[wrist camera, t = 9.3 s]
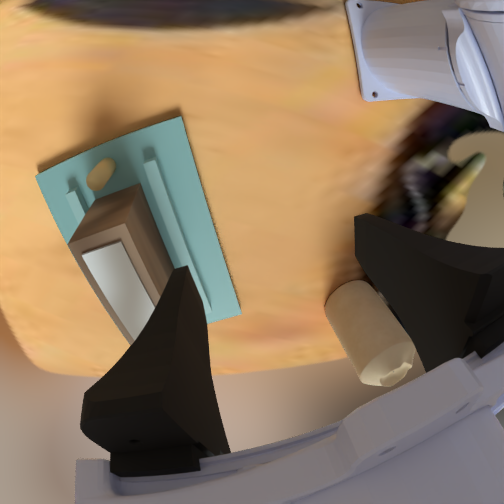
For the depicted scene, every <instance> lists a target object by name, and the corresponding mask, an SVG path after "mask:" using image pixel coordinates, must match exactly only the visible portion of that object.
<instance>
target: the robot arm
mask: <svg viewBox="0 0 504 504" xmlns="http://www.w3.org/2000/svg"><path fill="white" fill-rule="evenodd" d="M357 3H358V4H359V5H360V8H358V7H357ZM345 6H346V11H347V15H348V19H349V24H350V29H351V34H352V39H353V44H354V50H355V56H356V62H357V68H358V74H359V81H360V89H361V96H362V98H363V100H365V101H369V102H371V101H381V100H394V99H409V98H424V99H429V100H433V101H437V102H441V103H445V104H449V105H452V106H456V107H460V108H463V109H466V110H470V111H473V112H476V113H479V114H482V115H484V116H485V117H486V119H487V120H488V123H489V125H490V127H492V128H495V129H497V130H500V131H502V132H504V0H424V1H417V2H411V3H405V4H396V3H389V2H381V1H371V0H347V1H346V3H345ZM373 92H375V96H374V97H373V96H372V93H373ZM354 226H355V256H356V258H357V260H358V261H359V263H360V265H361V267H362V268H363V270H364V271H365V273H366V274H367V276H368V277H369V278H370V279H371V281H372V282H373V283H374V284H375V286H376V287H377V288H378V289H379V291H380V292H381V293H382V294H383V296H384V297H385V298H386V300H387V301H388V302H389V303H390V305H391V306H392V307H393V309H394V310H395V312H396V313H397V315H398V316H399V318H400V320H401V321H402V323H403V325H404V327H405V328H406V330H407V332H408V334H409V336H410V338H411V340H412V342H413V344H414V346H415V348H416V350H417V352H418V354H419V356H420V359H421V361H422V363H423V366H424V368H425V371H426V374H424V375H422V376H420V377H418V378H416V379H414V380H413V381H411V382H409V383H407V384H405V385H403V386H401V387H399V388H397V389H394V390H392V391H390V392H388V393H386V394H384V395H382V396H380V397H377V398H375V399H373V400H371V401H370V402H368V403H366V404H364V405H362V406H361V407H358V408H357V409H356V410H355V411H353V412H352V413H351V414H349V415H348V416H346V417H345V418H344V419H343V420H341V421H338V422H336V423H333V424H331V425H328V426H325V427H322V428H319V429H316V430H313V431H310V432H307V433H304V434H301V435H298V436H295V437H292V438H288V439H285V440H281V441H278V442H274V443H271V444H267V445H263V446H259V447H255V448H251V449H247V450H243V451H238V452H233V453H231V451H230V448H229V445H228V442H227V438H226V435H225V431H224V427H223V423H222V419H221V416H220V412H219V407H218V403H217V399H216V394H215V390H214V386H213V380H212V375H211V368H210V356H209V343H208V329H207V320H206V315H205V310H204V305H203V301H202V298H201V296H200V294H199V291H198V289H197V287H196V284H195V282H194V279H193V277H192V275H191V272H190V270H189V267H188V265H186V266H183V267H179V268H176V269H173V271H172V273H171V275H170V277H169V280H168V282H167V284H166V286H165V288H164V291H163V293H162V295H161V297H160V299H159V301H158V303H157V305H156V307H155V309H154V311H153V313H152V314H151V316H150V318H149V320H148V322H147V323H146V325H145V326H144V328H143V330H142V331H141V332H140V334H139V335H138V337H137V338H136V340H135V341H134V342H133V344H132V345H131V346H130V347H129V349H128V350H127V351H126V352H125V354H124V355H123V356H122V357H121V358H120V360H119V361H118V362H117V363H116V364H115V365H114V366H113V367H112V368H111V369H110V370H109V371H108V372H107V373H106V374H105V375H104V376H103V377H102V378H101V379H100V380H99V381H97V382H96V383H95V384H94V385H93V386H92V387H91V388H89V389H88V390H87V391H86V392H85V393H84V399H83V405H82V413H81V423H80V428H81V430H82V432H83V433H84V434H85V435H86V436H87V437H88V438H89V439H90V440H92V441H93V442H95V443H96V444H98V445H99V446H101V447H102V448H104V449H106V450H107V451H108V452H110V453H111V454H110V461H109V460H105V459H77V460H76V476H75V504H504V429H503V428H502V426H501V424H500V423H499V421H498V420H497V418H496V416H495V415H496V414H497V413H498V412H499V411H500V410H501V409H503V408H504V248H488V247H479V246H471V245H465V244H460V243H455V242H451V241H447V240H443V239H439V238H435V237H432V236H429V235H426V234H423V233H420V232H417V231H414V230H411V229H409V228H406V227H403V226H401V225H398V224H396V223H393V222H390V221H388V220H385V219H383V218H380V217H377V216H374V215H371V214H368V213H365V214H362V215H358V216H355V217H354Z"/></svg>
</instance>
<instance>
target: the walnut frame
mask: <svg viewBox="0 0 504 504" xmlns="http://www.w3.org/2000/svg"><path fill="white" fill-rule="evenodd" d="M67 245H68V247H69V248H70V250H71V252H72V254H73V256H74V258H75V259H76V261H77V263H78V265H79V266H80V268H81V270H82V272H83V273H84V275H85V277H86V278H87V280H88V282H89V283H90V285H91V287H92V288H93V290H94V292H95V293H96V295H97V296H98V298H99V300H100V301H101V303H102V304H103V306H104V307H105V309H106V310H107V312H108V313H109V315H110V316H111V318H112V319H113V321H114V322H115V324H116V325H117V327H118V328H119V330H120V331H121V332H122V334H123V335H124V337H125V338H126V339H127V341H128V342H129V344H130V345H132V344H133V342H134V341H135V340H136V338H137V337H138V335H139V334H140V332H141V331H142V330H143V328H144V326H145V325H146V323H147V322H148V320H149V318H150V316H151V314H152V313H153V311H154V309H155V307H156V305H157V303H158V301H159V299H160V297H161V295H162V293H163V291H164V288H165V286H166V284H167V282H168V280H169V277H170V275H171V273H172V271H173V269H175V268H174V265H173V263H172V261H171V259H170V256H169V254H168V251H167V249H166V247H165V244H164V242H163V239H162V237H161V235H160V232H159V230H158V227H157V225H156V222H155V220H154V217H153V215H152V212H151V210H150V207H149V204H148V202H147V199H146V196H145V194H144V191H143V188H142V186H141V183H139V184H136V185H133V186H130V187H128V188H125V189H122V190H119V191H117V192H114V193H111V194H109V195H106V196H104V197H101V198H98V199H96V200H94V202H93V203H92V205H91V206H90V208H89V210H88V211H87V213H86V214H85V216H84V217H83V219H82V221H81V222H80V224H79V226H78V227H77V229H76V230H75V232H74V234H73V236H72V237H71V239H70V241H69V242H68V244H67Z"/></svg>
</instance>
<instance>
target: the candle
mask: <svg viewBox="0 0 504 504" xmlns="http://www.w3.org/2000/svg"><path fill="white" fill-rule="evenodd" d="M325 314H326V317H327V319H328V321H329V323H330V324H331V326H332V328H333V330H334V332H335V333H336V335H337V337H338V339H339V341H340V343H341V345H342V346H343V348H344V350H345V352H346V354H347V356H348V358H349V359H350V361H351V363H352V365H353V367H354V368H355V371H356V372H357V374H358V376H359V378H360V380H361V382H363V383H365V384H369V385H378V386H393V385H394V384H396V383H397V382H398V381H400V380H401V379H402V378H403V377H405V376H406V373H407V371H408V369H410V368H411V367H412V363H413V358H414V353H415V346H414V344H413V342H412V340H411V338H410V337H409V336H408V334H407V333H406V332H405V330H404V329H403V327H402V326H401V325H400V323H399V322H398V321H397V319H396V318H395V317H394V315H393V314H392V313H391V311H390V310H389V309H388V307H387V306H386V305H385V303H384V302H383V301H382V299H381V298H380V297H379V295H378V294H377V293H376V292H375V290H374V289H373V288H372V287H371V286H370V285H369V284H368V283H367V282H365V281H362V280H355V281H350V282H348V283H345V284H343V285H342V286H340V287H339V288H337V289H336V290H335V291H334V292H333V293H332V294H331V295H330V297H329V298H328V300H327V302H326V305H325Z"/></svg>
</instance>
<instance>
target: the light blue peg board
mask: <svg viewBox="0 0 504 504" xmlns="http://www.w3.org/2000/svg"><path fill="white" fill-rule="evenodd" d="M35 177H36V180H37V182H38V185H39V187H40V189H41V192H42V194H43V196H44V198H45V201H46V203H47V205H48V207H49V209H50V211H51V213H52V216H53V218H54V220H55V222H56V224H57V226H58V228H59V230H60V232H61V234H62V236H63V238H64V239H65V241H66V243H67V244H68V242H69V241H70V239H71V237H72V236H73V234H74V232H75V230H76V229H77V227H78V226H79V224H80V222H81V221H82V219H83V217H84V216H85V214H86V213H87V211H88V210H89V208H90V206H91V205H92V203H93V202H94V200H96V199H98V198H101V197H104V196H106V195H109V194H111V193H114V192H117V191H119V190H122V189H125V188H128V187H130V186H133V185H136V184H139V183H141V186H142V188H143V191H144V194H145V196H146V199H147V202H148V204H149V207H150V210H151V212H152V215H153V217H154V220H155V222H156V225H157V227H158V230H159V232H160V235H161V237H162V239H163V242H164V244H165V247H166V249H167V251H168V254H169V256H170V259H171V261H172V263H173V265H174V268H175V269H176V268H179V267H183V266H186V265H188V267H189V270H190V272H191V275H192V277H193V279H194V282H195V284H196V287H197V289H198V291H199V294H200V296H201V298H202V301H203V305H204V310H205V315H206V320H207V324H208V323H212V322H215V321H219V320H223V319H226V318H230V317H233V316H237V315H240V314H242V312H241V309H240V306H239V303H238V300H237V297H236V294H235V291H234V288H233V285H232V281H231V278H230V275H229V272H228V269H227V266H226V263H225V260H224V257H223V253H222V250H221V247H220V244H219V241H218V238H217V234H216V231H215V228H214V225H213V222H212V218H211V215H210V212H209V208H208V205H207V202H206V199H205V195H204V192H203V189H202V185H201V182H200V179H199V175H198V172H197V169H196V165H195V162H194V158H193V155H192V151H191V148H190V145H189V141H188V138H187V134H186V131H185V127H184V123H183V120H182V116H178V117H175V118H172V119H169V120H166V121H163V122H160V123H157V124H154V125H151V126H148V127H145V128H142V129H139V130H137V131H134V132H131V133H128V134H126V135H123V136H121V137H118V138H115V139H113V140H110V141H108V142H105V143H103V144H101V145H98V146H96V147H94V148H91V149H89V150H87V151H84V152H82V153H80V154H78V155H76V156H73V157H71V158H69V159H67V160H65V161H63V162H61V163H59V164H57V165H55V166H53V167H51V168H49V169H47V170H45V171H43V172H41V173H39V174H37V175H36V176H35ZM69 249H70V248H69ZM70 251H71V250H70ZM71 253H72V252H71ZM75 260H76V259H75ZM76 262H77V261H76ZM79 267H80V266H79ZM80 269H81V268H80ZM83 274H84V273H83ZM86 279H87V278H86ZM87 281H88V280H87ZM89 284H90V283H89ZM92 289H93V288H92ZM95 294H96V293H95ZM97 297H98V296H97ZM100 302H101V301H100ZM102 305H103V304H102ZM104 308H105V307H104ZM106 311H107V310H106ZM108 314H109V313H108ZM110 317H111V316H110ZM112 320H113V319H112ZM114 323H115V322H114ZM116 326H117V325H116ZM121 333H122V332H121ZM123 336H124V335H123ZM126 340H127V339H126ZM128 343H129V342H128Z"/></svg>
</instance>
